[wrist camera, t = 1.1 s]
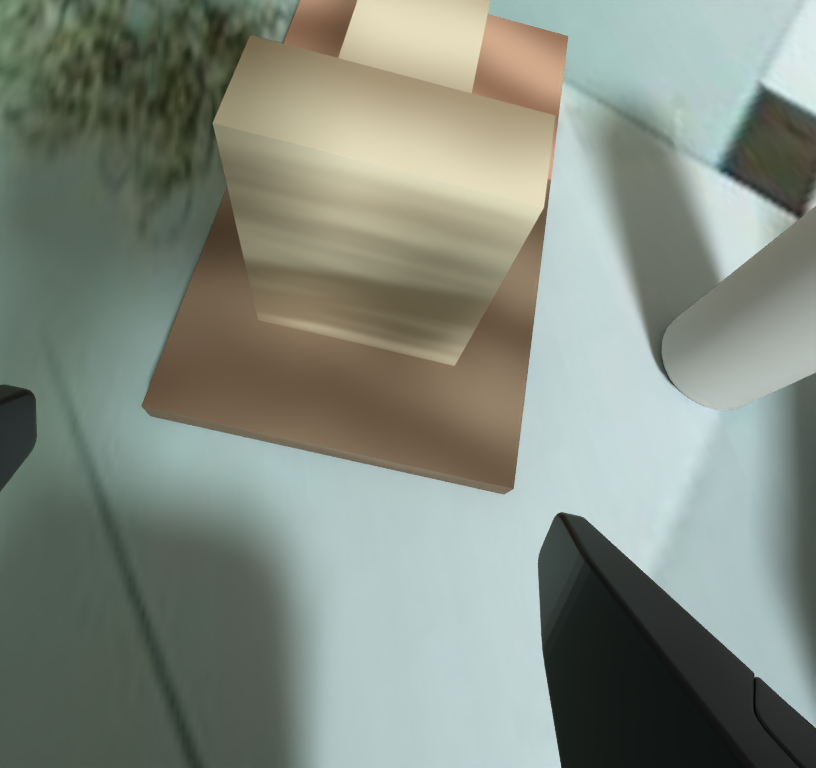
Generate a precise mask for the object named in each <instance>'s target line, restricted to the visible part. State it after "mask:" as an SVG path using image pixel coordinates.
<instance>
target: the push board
mask: <svg viewBox="0 0 816 768" xmlns="http://www.w3.org/2000/svg"><path fill="white" fill-rule="evenodd" d="M356 3H357V0H300V2H299V5H298V7H297V10H296V12H295V15H294V17H293V20H292V22H291V25H290V28H289V30H288V33H287V35H286V38H285V40H284V43H283V44H287V45H291V46H295V47H298V48H302V49H306V50H310V51H313V52H317V53H321V54H325V55H329V56H332V57H336V58H338V57H339V54H340V51H341V48H342V45H343V42H344V39H345V36H346V33H347V30H348V27H349V24H350V21H351V18H352V15H353V12H354V9H355V6H356ZM567 42H568V36H565V35H562V34H558V33H554V32H551V31H547V30H544V29H540V28H536V27H533V26H529V25H525V24H522V23H518V22H514V21H511V20H507V19H503V18H500V17H496V16H492V15H489V14H488V15H487V20H486V25H485V30H484V35H483V40H482V45H481V49H480V54H479V59H478V64H477V69H476V74H475V79H474V84H473V89H472V94H476V95H480V96H484V97H487V98H491V99H495V100H499V101H502V102H506V103H510V104H514V105H518V106H521V107H525V108H529V109H533V110H536V111H540V112H544V113H548V114H552V115H555V123H554V131H553V139H552V147H551V155H550V163H549V172H548V180H547V188H546V196H545V204H544V208H543V210H542V212H541V214H540V215H539V217H538V219H537V221H536V223H535V224H534V226H533V228H532V230H531V231H530V233H529V235H528V237H527V238H526V240H525V242H524V244H523V246H522V247H521V249H520V251H519V253H518V254H517V256H516V258H515V260H514V262H513V263H512V265H511V267H510V269H509V270H508V272H507V274H506V276H505V278H504V279H503V281H502V283H501V285H500V286H499V288H498V290H497V292H496V293H495V295H494V297H493V299H492V301H491V302H490V304H489V306H488V308H487V309H486V311H485V313H484V315H483V317H482V318H481V320H480V322H479V324H478V325H477V327H476V329H475V331H474V333H473V334H472V336H471V338H470V340H469V341H468V343H467V345H466V347H465V348H464V350H463V352H462V354H461V356H460V357H459V359H458V361H457V363H456V364H455V366H453V365H448V364H444V363H440V362H435V361H431V360H427V359H423V358H418V357H414V356H410V355H406V354H401V353H397V352H393V351H389V350H384V349H380V348H376V347H371V346H367V345H363V344H359V343H354V342H350V341H346V340H342V339H337V338H333V337H329V336H324V335H320V334H316V333H312V332H307V331H303V330H299V329H295V328H290V327H286V326H282V325H278V324H273V323H269V322H265V321H260V320H258V318H257V313H256V309H255V305H254V300H253V296H252V292H251V287H250V283H249V279H248V274H247V270H246V266H245V261H244V257H243V253H242V248H241V244H240V240H239V235H238V231H237V227H236V222H235V218H234V214H233V209H232V205H231V201H230V196H229V192H228V187H227V189H226V191H225V194H224V196H223V199H222V201H221V204H220V207H219V209H218V212H217V214H216V217H215V219H214V222H213V224H212V227H211V230H210V232H209V235H208V237H207V240H206V242H205V245H204V247H203V250H202V253H201V255H200V258H199V260H198V263H197V265H196V268H195V271H194V273H193V276H192V278H191V281H190V283H189V286H188V288H187V291H186V294H185V296H184V299H183V301H182V304H181V306H180V309H179V311H178V314H177V317H176V319H175V322H174V324H173V327H172V329H171V332H170V334H169V337H168V340H167V342H166V345H165V347H164V350H163V352H162V355H161V357H160V360H159V363H158V365H157V368H156V370H155V373H154V375H153V378H152V380H151V383H150V386H149V388H148V391H147V393H146V396H145V398H144V401H143V403H142V407H143V408H144V409H145V410H146V411H147V413H148V414H149V415H150V416H153V417H157V418H162V419H166V420H171V421H175V422H180V423H185V424H189V425H194V426H198V427H203V428H207V429H212V430H216V431H221V432H225V433H230V434H234V435H239V436H243V437H248V438H252V439H257V440H261V441H266V442H270V443H275V444H279V445H284V446H288V447H293V448H297V449H302V450H306V451H311V452H315V453H320V454H325V455H329V456H334V457H338V458H343V459H347V460H352V461H356V462H361V463H365V464H370V465H374V466H379V467H383V468H388V469H392V470H397V471H401V472H406V473H410V474H415V475H419V476H424V477H428V478H433V479H437V480H442V481H446V482H451V483H455V484H460V485H465V486H469V487H474V488H478V489H483V490H487V491H492V492H496V493H501V494H506V493H507V492H509V491H511V490H512V489H514V481H515V473H516V464H517V456H518V448H519V440H520V431H521V423H522V415H523V406H524V398H525V390H526V382H527V373H528V365H529V357H530V348H531V340H532V332H533V324H534V315H535V307H536V299H537V290H538V282H539V274H540V266H541V257H542V249H543V241H544V232H545V224H546V216H547V208H548V199H549V191H550V183H551V174H552V166H553V158H554V149H555V141H556V133H557V125H558V116H559V108H560V100H561V91H562V83H563V75H564V67H565V58H566V50H567Z"/></svg>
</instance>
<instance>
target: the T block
mask: <svg viewBox="0 0 816 768" xmlns="http://www.w3.org/2000/svg"><path fill="white" fill-rule="evenodd" d="M489 5H490V0H357V3H356V6H355V9H354V12H353V15H352V18H351V21H350V24H349V27H348V30H347V33H346V36H345V39H344V42H343V45H342V48H341V51H340V54H339V57H338V58H336V57H332V56H329V55H325V54H321V53H317V52H313V51H310V50H306V49H302V48H298V47H295V46H291V45H287V44H283V43H279V42H276V41H272V40H268V39H264V38H261V37H257V36H253V35H250V37H249V39H248V41H247V44H246V46H245V48H244V51H243V53H242V55H241V58H240V60H239V62H238V65H237V67H236V69H235V72H234V74H233V77H232V79H231V81H230V84H229V86H228V88H227V91H226V93H225V95H224V98H223V100H222V102H221V105H220V107H219V109H218V112H217V114H216V116H215V119H214V121H213V127H214V131H215V135H216V140H217V144H218V148H219V153H220V157H221V161H222V166H223V170H224V174H225V179H226V183H227V187H228V192H229V196H230V201H231V205H232V209H233V214H234V218H235V222H236V227H237V231H238V235H239V240H240V244H241V248H242V253H243V257H244V261H245V266H246V270H247V274H248V279H249V283H250V287H251V292H252V296H253V300H254V305H255V309H256V313H257V318H258V320H260V321H265V322H269V323H273V324H278V325H282V326H286V327H290V328H295V329H299V330H303V331H307V332H312V333H316V334H320V335H324V336H329V337H333V338H337V339H342V340H346V341H350V342H354V343H359V344H363V345H367V346H371V347H376V348H380V349H384V350H389V351H393V352H397V353H401V354H406V355H410V356H414V357H418V358H423V359H427V360H431V361H435V362H440V363H444V364H448V365H453V366H455V364H456V363H457V361H458V359H459V357H460V356H461V354H462V352H463V350H464V348H465V347H466V345H467V343H468V341H469V340H470V338H471V336H472V334H473V333H474V331H475V329H476V327H477V325H478V324H479V322H480V320H481V318H482V317H483V315H484V313H485V311H486V309H487V308H488V306H489V304H490V302H491V301H492V299H493V297H494V295H495V293H496V292H497V290H498V288H499V286H500V285H501V283H502V281H503V279H504V278H505V276H506V274H507V272H508V270H509V269H510V267H511V265H512V263H513V262H514V260H515V258H516V256H517V254H518V253H519V251H520V249H521V247H522V246H523V244H524V242H525V240H526V238H527V237H528V235H529V233H530V231H531V230H532V228H533V226H534V224H535V223H536V221H537V219H538V217H539V215H540V214H541V212H542V210H543V208H544V204H545V196H546V188H547V180H548V172H549V163H550V155H551V147H552V139H553V131H554V123H555V115H552V114H548V113H544V112H540V111H536V110H533V109H529V108H525V107H521V106H518V105H514V104H510V103H506V102H502V101H499V100H495V99H491V98H487V97H484V96H480V95H476V94H472V89H473V84H474V79H475V74H476V69H477V64H478V59H479V54H480V49H481V45H482V40H483V35H484V30H485V25H486V20H487V15H488V10H489Z"/></svg>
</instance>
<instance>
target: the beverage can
mask: <svg viewBox="0 0 816 768" xmlns="http://www.w3.org/2000/svg"><path fill="white" fill-rule="evenodd" d="M661 353H662V358H663V363H664V367H665V369H666V372H667V374H668V376H669V378H670V380H671V381H672V382H673V384H674V385H675V386H676V388H677V389H678V390H679V391H681V392H682V393H683V394H684V395H685V396H686V397H688V398H689V399H691V400H693V401H695V402H697V403H698V404H700V405H702V406H705V407H709V408H712V409H716V410H733V409H736V408H739V407H743V406H745V405H747V404H749V403H751V402H754V401H756V400H758V399H760V398H762V397H764V396H767V395H769V394H771V393H773V392H775V391H777V390H780V389H782V388H784V387H786V386H788V385H790V384H793V383H795V382H797V381H799V380H801V379H803V378H805V377H808V376H810V375H812V374H814V373H816V206H815V207H814V208H813V209H812V210H810V211H809V212H808V213H807V214H805V215H804V216H803V217H802V218H800V219H799V220H798V221H797V222H795V223H794V224H793V225H792V226H790V227H789V228H788V229H787V230H785V231H784V232H783V233H782V234H780V235H779V236H778V237H777V238H775V239H774V240H773V241H772V242H770V243H769V244H768V245H767V246H765V247H764V248H763V249H762V250H760V251H759V252H758V253H757V254H755V255H754V256H753V257H752V258H750V259H749V260H748V261H747V262H745V263H744V264H743V265H742V266H740V267H739V268H738V269H737V270H735V271H734V272H733V273H732V274H730V275H729V276H728V277H727V278H725V279H724V280H723V281H722V282H720V283H719V284H718V285H717V286H715V287H714V288H713V289H712V290H710V291H709V292H708V293H707V294H705V295H704V296H703V297H702V298H700V299H699V300H698V301H697V302H695V303H694V304H693V305H692V306H690V307H689V308H688V309H687V310H685V311H684V312H683V313H682V314H680V315H679V316H678V317H677V318H675V319H674V320H673V321H672V323H671V324H670V325H669V326H668V327H667V329H666V331H665V334H664V336H663V339H662V350H661Z"/></svg>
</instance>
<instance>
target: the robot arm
mask: <svg viewBox="0 0 816 768" xmlns="http://www.w3.org/2000/svg"><path fill="white" fill-rule="evenodd" d="M36 438H37V427H36V400H35V396H34V394H33V393H32V392H31V391H30V390H27V389H23V388H19V387H15V386H10V385H0V491H1V490H2V489H3V488H4V486H5V485H6V484H7V482H8V481H9V480H10V479H11V477H12V476H13V475H14V473H15V472H16V471H17V470H18V468H19V467H20V466H21V464H22V463H23V462H24V461H25V459H26V458H27V457H28V455H29V454H30V453H31V451H32V450H33V448H34V445H35V443H36ZM538 577H539V597H540V618H541V637H542V650H543V658H544V665H545V671H546V677H547V683H548V689H549V695H550V701H551V707H552V713H553V719H554V726H555V732H556V738H557V744H558V750H559V756H560V762H561V768H816V728H815V727H814V726H813V725H811V724H810V723H809V722H808V721H807V720H806V719H805V718H804V717H802V716H801V715H800V714H799V713H798V712H797V711H796V710H795V709H793V708H792V707H791V706H790V705H789V704H788V703H787V702H786V701H784V700H783V699H782V698H781V697H780V696H779V695H778V694H777V693H776V692H775V691H773V690H772V689H771V688H770V687H769V686H768V685H767V684H766V683H765V682H764V681H763V680H762V679H760V678H759V677H755V678H754V673H753V671H751V670H750V669H749V668H748V667H747V666H746V665H745V664H744V663H743V662H742V661H740V660H739V659H738V658H737V657H736V656H735V655H734V654H733V653H732V652H731V651H730V650H728V649H727V648H726V647H725V646H724V645H723V644H722V643H721V642H720V641H719V640H717V639H716V638H715V637H714V636H713V635H712V634H711V633H710V632H709V631H708V630H707V629H705V628H704V627H703V626H702V625H701V624H700V623H699V622H698V621H697V620H696V619H694V618H693V617H692V616H691V615H690V614H689V613H688V612H687V611H686V610H685V609H683V608H682V607H681V606H680V605H679V604H678V603H677V602H676V601H675V600H674V599H673V598H671V597H670V596H669V595H668V594H667V593H666V592H665V591H664V590H663V589H662V588H660V587H659V586H658V585H657V584H656V583H655V582H654V581H653V580H652V579H651V578H649V577H648V576H647V575H646V574H645V573H644V572H643V571H642V570H641V569H640V568H639V567H637V566H636V565H635V564H634V563H633V562H632V561H631V560H630V559H629V558H628V557H627V556H625V555H624V554H623V553H622V552H621V551H620V550H619V549H618V548H617V547H616V546H614V545H613V544H612V543H611V542H610V541H609V540H608V539H607V538H606V537H605V536H604V535H602V534H601V533H600V532H599V531H598V530H597V529H596V528H595V527H594V526H593V525H591V524H590V523H589V522H588V521H587V520H586V519H585V518H583V517H581V516H577V515H573V514H568V513H563V512H561V513H558V514H557V515H556V516H555V518H554V520H553V522H552V524H551V526H550V529H549V531H548V533H547V536H546V538H545V540H544V543H543V545H542V547H541V550H540V553H539V558H538Z"/></svg>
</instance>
